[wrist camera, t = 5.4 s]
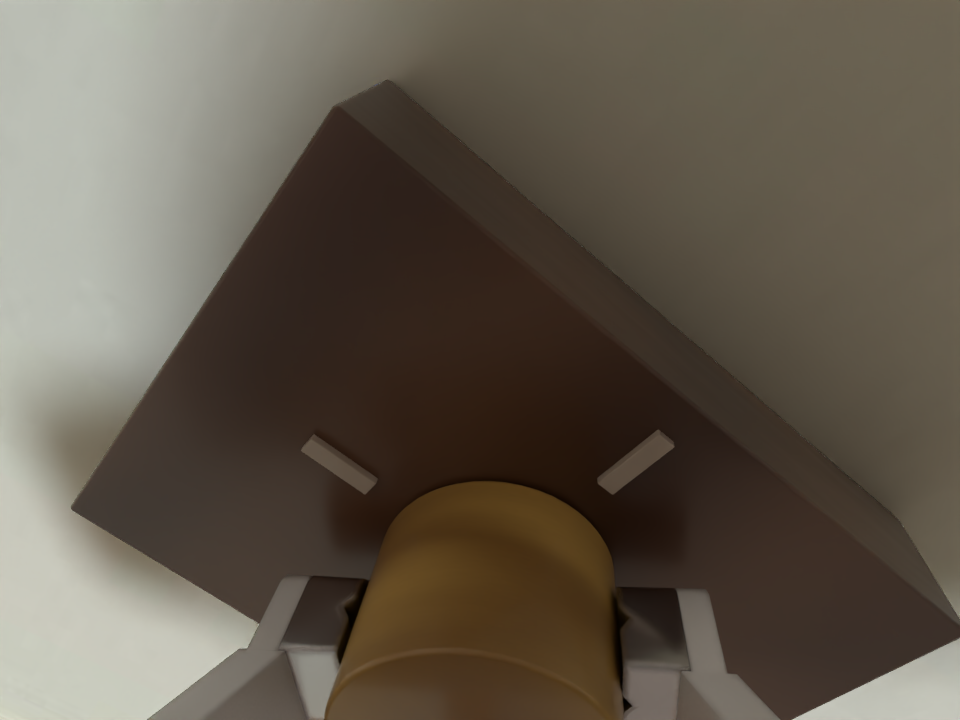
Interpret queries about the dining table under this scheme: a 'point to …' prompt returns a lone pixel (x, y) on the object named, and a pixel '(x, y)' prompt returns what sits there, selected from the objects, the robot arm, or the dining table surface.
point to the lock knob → (485, 614)
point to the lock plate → (492, 417)
